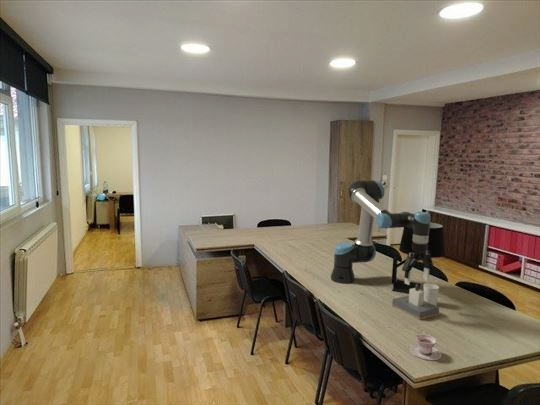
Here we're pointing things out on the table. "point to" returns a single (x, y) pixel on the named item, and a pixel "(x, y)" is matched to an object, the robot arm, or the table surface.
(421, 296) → the plug
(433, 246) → the table lamp
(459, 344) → the table surface
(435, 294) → the white cup
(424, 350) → the teacup
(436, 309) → the socket box
